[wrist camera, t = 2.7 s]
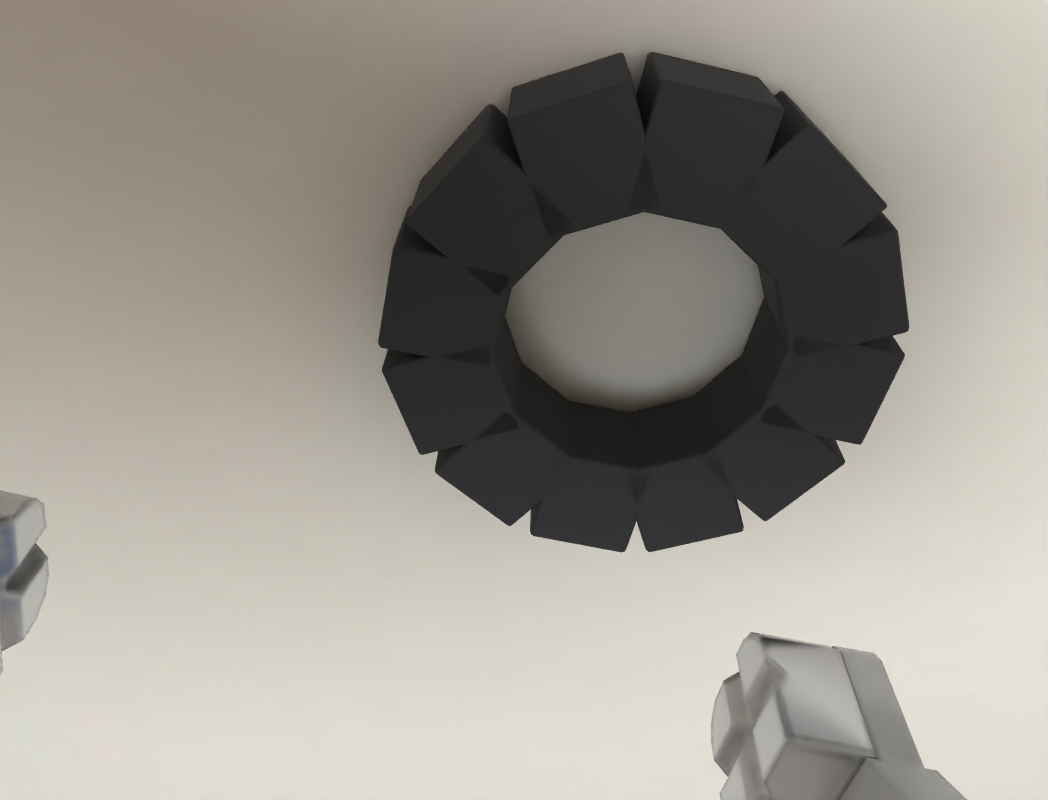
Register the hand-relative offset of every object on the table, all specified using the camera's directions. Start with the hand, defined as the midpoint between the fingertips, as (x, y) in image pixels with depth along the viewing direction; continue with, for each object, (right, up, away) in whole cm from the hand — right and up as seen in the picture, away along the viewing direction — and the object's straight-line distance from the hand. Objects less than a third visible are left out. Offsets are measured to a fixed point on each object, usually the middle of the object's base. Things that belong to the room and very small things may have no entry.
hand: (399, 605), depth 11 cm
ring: (+4, +4, +8) cm, 10 cm away
